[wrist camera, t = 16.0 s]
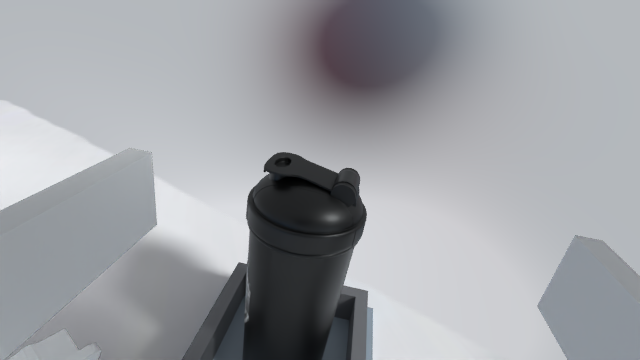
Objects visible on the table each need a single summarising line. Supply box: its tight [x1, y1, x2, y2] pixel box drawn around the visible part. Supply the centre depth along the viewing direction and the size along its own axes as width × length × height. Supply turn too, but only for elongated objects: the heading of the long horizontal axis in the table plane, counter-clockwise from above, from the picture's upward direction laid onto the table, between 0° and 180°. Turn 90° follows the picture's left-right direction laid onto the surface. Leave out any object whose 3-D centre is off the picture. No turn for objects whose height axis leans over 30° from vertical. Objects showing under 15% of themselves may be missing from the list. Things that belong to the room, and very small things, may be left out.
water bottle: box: [242, 152, 367, 360], centre depth 33 cm, size 10×10×23 cm
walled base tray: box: [182, 263, 373, 360], centre depth 38 cm, size 20×20×5 cm
